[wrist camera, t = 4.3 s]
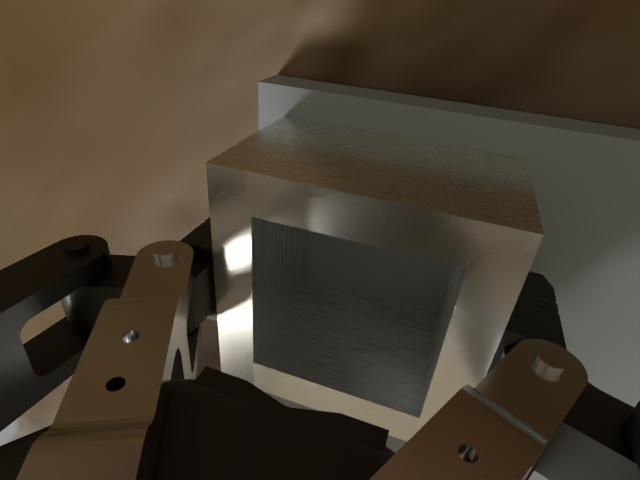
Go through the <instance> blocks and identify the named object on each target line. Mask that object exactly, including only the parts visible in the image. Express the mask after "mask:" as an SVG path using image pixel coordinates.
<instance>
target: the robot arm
mask: <svg viewBox="0 0 640 480" xmlns="http://www.w3.org/2000/svg"><path fill="white" fill-rule="evenodd" d="M60 300H61V302H62V305H63V308H64V312H65V315H66V317H64V318H63V319H61V320H60V321H58V322H57V323H55V324H54V325H52V326H51V327H49V328H48V329H46V330H45V331H43V332H42V333H40V334H39V335H37V336H36V337H34V338H32V339H31V340H29V341H28V342H26V343H25V344H22V342H21V339H20V333H21V330H22V328H23V326H24V325H25V323H26V322H27V321H28V320H29V319H31V318H32V317H34V316H35V315H37V314H39V313H40V312H42V311H43V310H45V309H47V308H48V307H50V306H52V305H53V304H55V303H56V302H58V301H60ZM558 312H559V311H558V306H557V303H556V297H555V292H554V288H553V286H552V285H551V284H550V283H549V282H548V280H547V279H546V278H545V277H544V275H543V274H539V273H535V272H530V271H529V272H528V275H527V277H526V280H525V282H524V284H523V287H522V289H521V292H520V294H519V297H518V299H517V301H516V304H515V306H514V309H513V311H512V314H511V316H510V319H509V321H508V323H507V326H506V328H505V331H504V333H503V336H502V338H501V340H500V343H499V345H498V348H497V350H496V353H495V355H494V357H493V360H492V362H491V365H490V367H489V370H488V372H487V374H486V376H485V377H484V378H483V379H482V380H481V382H480V383H479V384H478V385H477V386H476V387H475V388H473V387H472V386H470V385H469V384H467V385H465V386H463V387H462V388H461V389H460V390H459V391H458V392H457V393H456V394H455V395H454V396H453V397H452V398H451V399H450V400H449V401H448V402H447V403H446V404H445V405H444V406H443V407H442V408H441V409H440V410H439V411H438V412H437V413H436V414H435V415H434V416H433V417H432V418H431V419H430V420H429V421H428V422H427V423H426V424H425V425H424V426H423V427H422V428H421V429H420V430H419V431H418V432H417V433H416V434H415V435H414V436H413V437H412V438H411V439H410V440H408V441H407V442H406V443H405V444H404V445H403V446H402V447H401V448H400V449H399V450H398V451H397V452H396V453H395V452H394V451H392V450H391V449H389V448H388V447H386V442H387V438H388V433H389V430H387V429H385V428H382V427H379V426H376V425H373V424H370V423H367V422H364V421H362V420H359V419H356V418H353V417H350V416H347V415H344V414H342V413H335V412H326V411H317V410H309V409H300V408H291V407H288V406H285V405H283V404H282V403H280V402H279V401H277V400H276V399H274V398H273V397H271V396H270V395H268V394H267V393H265V392H264V391H262V390H260V389H259V388H257V387H256V386H254V385H253V384H251V383H250V382H248V381H247V380H244V379H241V378H238V377H235V376H232V375H230V374H227V373H224V372H221V371H218V370H215V369H212V368H209V367H207V366H206V367H205V368H204V369H203V371H202V372H201V373H200V375H199V376H198V377H197V378H196V373H197V365H198V357H199V348H200V340H201V323H202V322H203V321H204V320H205V318H208V319H211V320H214V321H217V322H218V320H217V306H216V292H215V278H214V264H213V250H212V236H211V223H210V218H208V219H207V220H206V221H205V223H202V224H201V225H200V226H198V227H197V228H196V229H194V230H193V231H192V232H191V233H189V234H188V235H187V236H186V237H184V238H183V239H182V240H181V241H174V240H167V241H159V242H155V243H152V244H149V245H147V246H145V247H143V248H142V249H141V250H140V251H139V252H138V253H137V255H136V256H126V255H110V252H109V248H108V244H107V242H106V240H105V239H103V238H101V237H98V236H93V235H80V236H74V237H69V238H66V239H63V240H61V241H58V242H56V243H54V244H52V245H50V246H48V247H46V248H44V249H42V250H40V251H38V252H36V253H34V254H32V255H30V256H28V257H26V258H24V259H22V260H20V261H18V262H16V263H14V264H12V265H10V266H8V267H6V268H4V269H2V270H0V432H1V431H2V430H3V429H4V428H6V427H7V426H8V425H9V424H11V423H12V422H13V421H15V420H16V419H17V418H18V417H20V416H21V415H22V414H23V413H25V412H26V411H27V410H28V409H30V408H31V407H32V406H34V405H35V404H36V403H37V402H39V401H40V400H41V399H42V398H44V397H45V396H46V395H47V394H49V393H50V392H51V391H53V390H54V389H55V388H56V387H58V386H59V385H60V384H61V383H63V382H64V381H65V380H66V379H68V378H69V377H70V376H71V375H73V377H72V379H71V381H70V384H69V386H68V388H67V391H66V393H65V395H64V398H63V400H62V402H61V405H60V407H59V409H58V412H57V414H56V417H55V419H54V421H53V423H52V425H50V426H48V427H46V428H43V429H41V430H38V431H36V432H34V433H31V434H29V435H26V436H24V437H21V438H19V439H17V440H14V441H12V442H9V443H7V444H5V445H2V446H0V480H529V479H530V477H531V475H532V474H533V472H534V471H536V472H538V473H539V474H541V475H542V476H544V477H545V478H547V479H549V480H640V401H639V402H638V403H637V405H636V406H635V407H633V406H631V405H629V404H627V403H625V402H623V401H621V400H619V399H617V398H615V397H613V396H611V395H609V394H607V393H605V392H603V391H601V390H600V389H598V388H596V387H595V386H593V385H592V384H591V383H589V382H588V374H587V371H586V369H585V367H584V366H583V364H582V363H581V362H580V361H579V359H578V358H577V357H575V356H574V355H573V354H572V353H571V352H569V351H568V350H567V348H566V343H565V339H564V334H563V329H562V325H561V320H560V315H559V314H558Z"/></svg>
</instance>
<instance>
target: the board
mask: <svg viewBox="0 0 640 480" xmlns="http://www.w3.org/2000/svg"><path fill="white" fill-rule="evenodd" d="M258 100H259V131H260V130H261V129H263V128H265V127H266V126H268V125H270V124H271V123H273V122H275V121H276V120H278V119H280V118H281V117H283V116H290V117H295V118H301V119H307V120H312V121H318V122H324V123H330V124H335V125H341V126H347V127H353V128H358V129H364V130H370V131H376V132H381V133H387V134H393V135H398V136H404V137H410V138H416V139H421V140H427V141H433V142H439V143H444V144H450V145H456V146H461V147H467V148H473V149H479V150H484V151H490V152H496V153H502V154H507V155H513V156H519V157H524V158H527V160H528V165H529V169H530V174H531V178H532V183H533V187H534V192H535V197H536V201H537V206H538V210H539V215H540V219H541V224H542V229H543V233H544V236H543V238H542V241H541V243H540V245H539V248H538V250H537V253H536V255H535V258H534V260H533V263H532V265H531V267H530V270H529V271H530V272H535V273H539V274H543V275H544V277H545V278H546V279H547V280H548V282H549V283H550V284H551V285H552V286H553V288H554V292H555V297H556V303H557V306H558V311H559V312H558V314H559V315H560V320H561V325H562V329H563V334H564V339H565V343H566V348H567V350H568V351H569V352H571V353H572V354H573V355H574V356H575V357H577V358H578V359H579V361H580V362H581V363H582V364H583V366H584V367H585V369H586V371H587V374H588V382H589V383H591V384H592V385H593V386H595V387H596V388H598V389H600V390H601V391H603V392H605V393H607V394H609V395H611V396H613V397H615V398H617V399H619V400H621V401H623V402H625V403H627V404H629V405H631V406H633V407H635V406H636V405H637V403H638V402H639V401H640V129H635V128H629V127H622V126H615V125H609V124H602V123H595V122H589V121H582V120H575V119H568V118H562V117H555V116H548V115H542V114H535V113H528V112H522V111H515V110H508V109H502V108H495V107H488V106H482V105H475V104H468V103H462V102H455V101H448V100H442V99H435V98H428V97H422V96H415V95H408V94H402V93H395V92H388V91H382V90H375V89H368V88H362V87H355V86H348V85H342V84H335V83H328V82H322V81H315V80H308V79H302V78H295V77H288V76H282V75H275V76H272V77H269V78H267V79H264V80H262V81H259V82H258ZM450 268H451V265H449V264H445V263H441V262H437V261H433V260H429V259H424V258H420V257H416V256H412V255H408V254H404V253H400V252H396V251H391V250H387V249H383V248H379V247H375V246H371V245H367V244H363V243H358V242H354V241H350V240H346V239H342V238H338V237H334V236H330V235H325V234H321V233H317V232H313V231H310V242H309V256H308V270H307V279H309V280H313V281H316V282H320V283H324V284H327V285H331V286H335V287H338V288H342V289H346V290H349V291H353V292H357V293H360V294H364V295H368V296H371V297H375V298H379V299H382V300H386V301H390V302H393V303H397V304H401V305H404V306H408V307H412V308H415V309H419V310H423V311H426V312H430V313H434V314H437V313H438V309H439V306H440V302H441V299H442V295H443V292H444V289H445V285H446V282H447V278H448V275H449V271H450ZM265 393H267V392H265ZM267 394H268V395H270V396H271V397H273V398H274V399H276V400H277V401H279V402H280V403H282V404H283V405H285V406H288V407H291V408H300V409H309V410H316V409H313V408H310V407H307V406H304V405H301V404H299V403H296V402H293V401H290V400H287V399H284V398H281V397H279V396H276V395H273V394H270V393H267ZM317 411H318V410H317ZM406 442H407V441H404V440H401V439H398V438H395V437H393V436H390V435H388V438H387V442H386V447H388V448H389V449H391V450H392V451H394V452H395V453H396V452H397V451H398V450H399V449H400V448H401V447H402V446H403V445H404V444H405V443H406ZM529 480H549V479H547V478H545V477H544V476H542V475H541V474H539V473H538V472H536V471H534V472H533V474H532V475H531V477H530V479H529Z"/></svg>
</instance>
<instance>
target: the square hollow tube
mask: <svg viewBox="0 0 640 480" xmlns="http://www.w3.org/2000/svg"><path fill="white" fill-rule="evenodd" d="M206 167H207V181H208V195H209V209H210V223H211V236H212V250H213V264H214V278H215V292H216V306H217V320H218V333H219V347H220V361H221V372H224V373H227V374H230V375H232V376H235V377H238V378H241V379H244V380H247V381H248V382H250V383H251V384H253V385H254V386H256V387H257V388H259V389H260V390H262V391H264V392H267V393H270V394H273V395H276V396H279V397H281V398H284V399H287V400H290V401H293V402H296V403H299V404H301V405H304V406H307V407H310V408H313V409H316V410H318V411H326V412H335V413H342V414H344V415H347V416H350V417H353V418H356V419H359V420H362V421H364V422H367V423H370V424H373V425H376V426H379V427H382V428H385V429H387V430H389V433H388V435H390V436H393V437H395V438H398V439H401V440H404V441H408V440H410V439H411V438H412V437H413V436H414V435H415V434H416V433H417V432H418V431H419V430H420V429H421V428H422V427H423V426H424V425H425V424H426V423H427V422H428V421H429V420H430V419H431V418H432V417H433V416H434V415H435V414H436V413H437V412H438V411H439V410H440V409H441V408H442V407H443V406H444V405H445V404H446V403H447V402H448V401H449V400H450V399H451V398H452V397H453V396H454V395H455V394H456V393H457V392H458V391H459V390H460V389H461V388H462V387H463V386H465V385H467V384H469V385H470V386H472V387H473V388H475V387H476V386H477V385H478V384H479V383H480V382H481V380H482V379H483V378H484V377H485V376H486V374H487V372H488V370H489V367H490V365H491V362H492V360H493V357H494V355H495V353H496V350H497V348H498V345H499V343H500V340H501V338H502V336H503V333H504V331H505V328H506V326H507V323H508V321H509V319H510V316H511V314H512V311H513V309H514V306H515V304H516V301H517V299H518V297H519V294H520V292H521V289H522V287H523V284H524V282H525V280H526V277H527V275H528V272H529V270H530V267H531V265H532V263H533V260H534V258H535V255H536V253H537V250H538V248H539V245H540V243H541V241H542V238H543V236H544V233H543V229H542V224H541V219H540V215H539V210H538V206H537V201H536V197H535V192H534V187H533V183H532V178H531V174H530V169H529V165H528V160H527V158H524V157H519V156H513V155H507V154H502V153H496V152H490V151H484V150H479V149H473V148H467V147H461V146H456V145H450V144H444V143H439V142H433V141H427V140H421V139H416V138H410V137H404V136H398V135H393V134H387V133H381V132H376V131H370V130H364V129H358V128H353V127H347V126H341V125H335V124H330V123H324V122H318V121H312V120H307V119H301V118H295V117H290V116H283V117H281V118H280V119H278V120H276V121H275V122H273V123H271V124H270V125H268V126H266V127H265V128H263V129H261V130H260V131H258V132H256V133H255V134H253V135H251V136H250V137H248V138H246V139H245V140H243V141H241V142H240V143H238V144H236V145H235V146H233V147H231V148H230V149H228V150H226V151H225V152H223V153H221V154H220V155H218V156H216V157H215V158H213V159H211V160H210V161H208V162H206ZM310 231H313V232H317V233H321V234H325V235H330V236H334V237H338V238H342V239H346V240H350V241H354V242H358V243H363V244H367V245H371V246H375V247H379V248H383V249H387V250H391V251H396V252H400V253H404V254H408V255H412V256H416V257H420V258H424V259H429V260H433V261H437V262H441V263H445V264H449V265H451V268H450V271H449V275H448V278H447V282H446V285H445V289H444V292H443V295H442V299H441V302H440V306H439V309H438V313H437V314H434V313H430V312H426V311H423V310H419V309H415V308H412V307H408V306H404V305H401V304H397V303H393V302H390V301H386V300H382V299H379V298H375V297H371V296H368V295H364V294H360V293H357V292H353V291H349V290H346V289H342V288H338V287H335V286H331V285H327V284H324V283H320V282H316V281H313V280H309V279H307V270H308V256H309V242H310Z"/></svg>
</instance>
